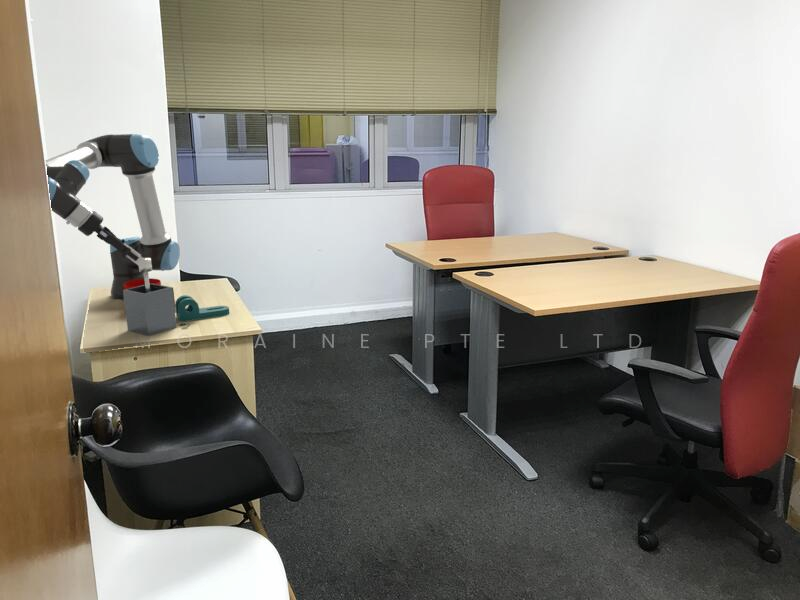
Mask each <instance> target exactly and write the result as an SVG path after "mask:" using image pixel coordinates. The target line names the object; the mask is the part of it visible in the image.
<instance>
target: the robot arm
mask: <svg viewBox="0 0 800 600" xmlns="http://www.w3.org/2000/svg"><path fill="white" fill-rule="evenodd" d="M159 156H160V155H159V150H158V147H157V145H156V143H155V141H154V140H153V139H152V138H151V137H150V136H149V135H145V134H138V133H133V134H132V133H131V134H130V133H129V134H126V133H125V134H104V135H101V136H100V135H99V136H97V137H94V138H92V139H89V140H86V141H83V142H80V143H78V145H77V146H76V148H74V149H71V150H69V151H66V152H64V153H61V154H58V155H56V156H53V157H51V158H49V159H46V160H45V161H46V166H47V175H48V184H49V193H50V200H51V208H52V210H51V211H52V213H55V214H56V215H58V216H59V217H60V218H62V219H63V220H65V221H66V225H71V226H73V227H74V228H77V230H78V231H80V232H81V233H82V234H84V235H85V236H86V237H89V236H91V235H92V234H93V233H96V237H97V238H98V239H99V240H101V241H104V242H105V243H106V244H107V245H109V254H110V259H111V266H112V267H111V268H112V274H113V275H112V276H113V280H112V284H111V289H110V296H111V298H112V299H114V300H115V299H116V300H124V296H123V290H124V283H125V282H127V281H131V280H136V279H144V272H139V266H140V267H141V268H142V269H143V268H144V267H145V266H146V265H147V264H148V261H146V260H145V259H144V258H151V264H152V271H162V272H164V271H173V270H174V269H175V268H176V267H177V265H178V263H179V261H180V255H181V254H180V253H181V252H180V246H179V243H178V242H177V241H175V240H172V237H171V234H170V233H168V232H166V229H165V225H164V220H163V216H162V212H161V211H162V210H161V207H160V204H159V203H160V202H159V199H158V194H157V189H156V185H155V181H154V177H153V173H154V172H155V171H156V166H157V165H158V163H159V162H160V161H159V160H160V159H159ZM103 167H104V168H105V167H109V168H113V167H114V168H120V169H121V173H122V175H123V176H125V177H126V178H127V180H128V183H129V186H130V192H131V196H132V199H133V202H134V208H135V210H136V216H137V218H138V219H137V220H138V223H139V224H138V225H139V228H140V232H141V237H140V236H133V237H125V238H119V237H117V235H115V234H114V232H112V231H111V230H110V229H109V228H108V227H106V226H102V225H101V224H102V223H103V221H104V217H103V216H102V215H100V214H99V213H98V212H96V211H93V209H92V208H91V207H90V206H89V205H87V204H86V203H85V202H83V201H82V200H81V199H79V198H78V197H77V194H78V193H79V192H80V191H81V189H82V188H83V187H84V186H85V185H86V183H87V181H88V179H89V177H90V170H95V169H97V168H103Z"/></svg>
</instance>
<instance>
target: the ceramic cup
mask: <svg viewBox="0 0 800 600" xmlns="http://www.w3.org/2000/svg"><path fill="white" fill-rule="evenodd" d="M151 283H152V284H158V285H162V282H161V279H158V278H151V277H149V284H151ZM142 285H145V280H144V279H136V280H131V281H127V282H125V283H124V290H125V289H129V288H134V287H138V286H142Z"/></svg>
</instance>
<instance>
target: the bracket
mask: <svg viewBox="0 0 800 600" xmlns="http://www.w3.org/2000/svg"><path fill="white" fill-rule="evenodd" d="M175 310H176V313H175V317H176V318H177V319H178V321H179V322H180V323H182V322H189V321H194V320H196V321H197V320H204V319H210V318H216V317H217V318H218V317H223V316H227V315H229V314H230V306H228V305H216V306H215V305H214V306H207V307H200V306H199V303H198V302H197V301H196V300H195V299H194V298H193V297H192V296H190V295H188V294H187V295H186V294H183V295H181V296H178V298H177V299H176V301H175Z"/></svg>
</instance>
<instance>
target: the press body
mask: <svg viewBox="0 0 800 600" xmlns="http://www.w3.org/2000/svg"><path fill="white" fill-rule="evenodd" d="M123 296H124V299H123V303H124V310H125V318H126V327H127V331H128V332H132V333H136V334H140V335H143V336H149V337H150V336H153V335H156V334H159V333H162V332H165V331H168V330H172V329H175V328H177V321H176V320H177V319H176V318H177V317H176V308H175V303H176V301H175V292H174V287H173V286H169V285H162V284H161V285H158V284H152V283H151V284H150V292H148V293H146V289H145V285H142V286H138V287H134V288H129V289H125V290H123Z"/></svg>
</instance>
